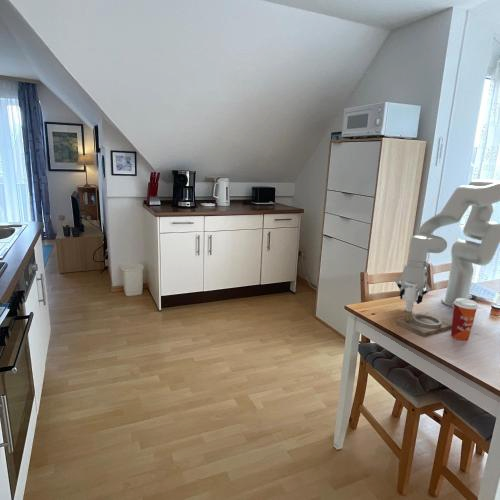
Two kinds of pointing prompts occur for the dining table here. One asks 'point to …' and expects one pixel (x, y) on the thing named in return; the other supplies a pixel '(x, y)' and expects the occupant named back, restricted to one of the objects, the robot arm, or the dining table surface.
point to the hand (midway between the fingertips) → (410, 300)
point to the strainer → (410, 296)
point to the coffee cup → (463, 318)
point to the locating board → (425, 323)
